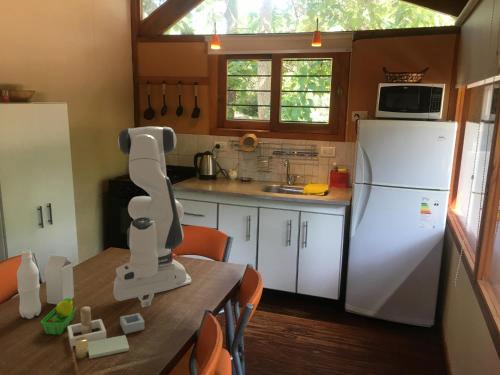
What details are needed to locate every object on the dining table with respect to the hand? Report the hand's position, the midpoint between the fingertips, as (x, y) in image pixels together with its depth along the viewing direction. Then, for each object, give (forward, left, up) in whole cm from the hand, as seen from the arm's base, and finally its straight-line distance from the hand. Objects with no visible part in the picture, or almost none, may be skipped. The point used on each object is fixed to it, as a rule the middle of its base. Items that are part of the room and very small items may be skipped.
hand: (146, 305), depth 141 cm
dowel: (+18, -9, -11) cm, 23 cm away
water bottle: (+34, -34, -12) cm, 49 cm away
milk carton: (+23, -42, -12) cm, 49 cm away
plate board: (+13, +2, -13) cm, 18 cm away
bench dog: (+21, +2, -12) cm, 24 cm away
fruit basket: (+25, -20, -12) cm, 34 cm away
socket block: (+3, -8, -12) cm, 15 cm away
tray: (+18, -9, -12) cm, 23 cm away
